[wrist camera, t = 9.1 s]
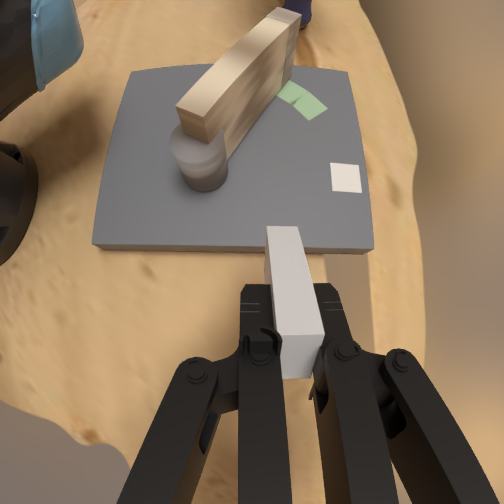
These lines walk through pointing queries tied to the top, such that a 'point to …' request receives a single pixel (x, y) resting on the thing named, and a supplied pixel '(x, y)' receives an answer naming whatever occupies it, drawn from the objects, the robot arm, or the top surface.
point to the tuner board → (238, 172)
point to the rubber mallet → (300, 9)
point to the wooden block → (233, 99)
